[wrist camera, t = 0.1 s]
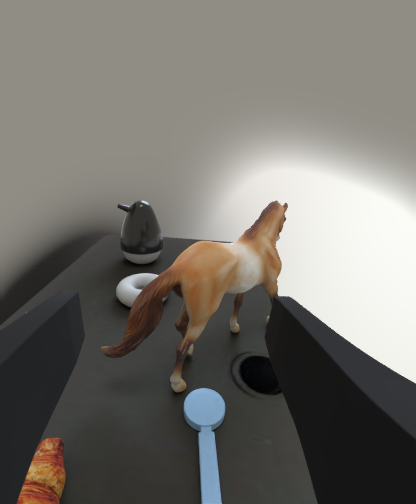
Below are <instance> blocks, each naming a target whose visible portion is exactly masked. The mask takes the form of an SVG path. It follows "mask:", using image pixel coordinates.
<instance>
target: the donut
mask: <svg viewBox="0 0 416 504" xmlns="http://www.w3.org/2000/svg"><path fill="white" fill-rule="evenodd" d="M157 276H159V275H155V274H148V273H143V274H135V275H131V276H129V277H126V278H125V279H123V280H122V281H121V282H120V283H119V284H118V286H117V289H116V295H117V297H118V299H119V300H120V302H121V303H123V304H125V305H126V306H129V307H132V305H133V302H134V301H135V299H136V297H137V296H138V295H139V293H140V292H141V291H142V290H143V289H144V287H145V286H146V285H147V284H149V283H150V282H151V281H152V280H154V279H155V278H156V277H157ZM167 298H168V296H167V297H166V298H163V302H164V301H165V300H166V299H167Z"/></svg>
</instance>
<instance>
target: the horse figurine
mask: <svg viewBox="0 0 416 504" xmlns="http://www.w3.org/2000/svg"><path fill="white" fill-rule="evenodd" d="M287 207H288V205H287V203H285V205H284V206H281V205H280V204H279V203H278V201H275V202H271V203H270V204H269V205H268V206H267V207H266V208H265V209H264V210H263V211H262V213H261V215H260V217H259V219H258V220H256V222H255V223H254V224H253V225H252V226H251V228H249V229H248V230H246V231H245V233H244V234H243V235H242V236H241V237H240V238H239V239H238V241H236V242H233V243H218V242H210V241H200V242H197V243H195V244H193V245H192V246H190V247H189V248H187V249H186V250H185V251H184V252H183V253H181V254H180V256H179V257H178V258H177V259H176V261H175V262H174V263H173V265H172V266H171V267H170V268H168V269H167V270H166V271H164V272H163V273H161V274H160V275H159V276H157V277H156V278H155V279H154V280H152V281H151V282H150V283H149V284H147V285H146V286H145V287H144V289H143V290H142V291H141V292H140V293H139V295H138V296H137V297H136V299H135V301H134V302H133V305H132V308H131V310H130V314H129V318H128V322H127V325H126V332H125V335H124V338H123V339H122V341H121V342H120V343H118V344H115V345H112V346H103V347H101V349H102V351H103V354H104V355H106V356H108V357H111V358H118V357H122V356H124V355H126V354H128V353H129V352H131V351H133V350H135V349H136V348H137V347H138V345H140V344H141V343H142V342H143V340H144V339H146V338H147V337H148V336H149V335H150V334H151V333H152V332H153V331H154V329H155V328H156V326H157V325H158V323H159V321H160V319H161V317H162V313H163V298H166V297H167V296H169V294H170V292H171V290H173V291H174V293H175V294H176V295H178V296H179V297H181V298H183V300H184V303H183V306H182V310H181V313H180V316H179V318H178V319H177V321H176V324H175V326H176V329H177V330H178V331H179V332H180V333H181V334H182V337H183V341H182V342H181V343H180V344H179V345H178V347H177V360H176V365H175V369H174V372H173V374H172V376H171V378H170V380H171V382H172V384H171V386H172V388H173V390H174V391H175V392H182V391H184V390H185V389H186V383H185V382H184V381H183V379H182V378H181V370H182V366H183V362H184V360H185V357H186V355H187V353H188V354H189V355H192V354H193V344H192V343H194V342H195V341H196V340H197V338H198V337H199V336H200V334H201V333H202V331H203V330H204V328H205V326H206V324H207V322H208V320H209V318H210V317H211V315H212V314H213V313H215V312H216V311H217V309H218V307H219V304H220V302H221V300H222V297H223V295H224V294H225V293H237V296H236V297H235V300H234V311H233V315H232V317H231V319H230V325H231V326H230V328H231V331H232V332H234V333H237V332H239V331H240V328H239V325H238V324H237V323H236V321H237V315H238V312H239V309H240V307H241V306H242V303H243V293H244V292H246V291H248V290H250V289H251V288H252V287H254V286H255V285H258V284H262V286H263V287H264V288H265V290H266V291H267V293H268V294H269V297H270V300H271V304H272V303H273V299H274V296H278V294H277V292H278V287H277V277H278V276H279V274H280V271H281V260H280V257H279V255H278V252H277V249H276V241H277V240H278V239H279V238H280V237H279V233H280V232H281V230H282V227H283V223H284V222H285V220H286V218H285V215H284V213H285V211H286V209H287ZM271 308H272V306H271ZM270 312H271V309H270ZM268 321H269V316H268V317H267V320H266V323H268ZM188 322H189V324H188ZM187 326H188V328H187Z"/></svg>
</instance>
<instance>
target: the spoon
mask: <svg viewBox="0 0 416 504" xmlns="http://www.w3.org/2000/svg"><path fill="white" fill-rule="evenodd" d="M224 415H225V403H224V401H223V399H222V397H221V396H220V395H219V394H218V393H217V392H215V391H213V390H211V389H206V388H201V389H197V390H194V391H192V392H191V393H190V394H189V395H188V396H187V397H186V399H185V402H184V418H185V420H186V422H187V423H188V424H189V425H190V426H191V427H192V428H193V429H195V430H198V431H200V432H199V434H198V444H199V466H200V487H201V504H222V503H221V493H220V483H219V474H218V464H217V454H216V445H215V435H214V432H212V430H214V429H216V428H217V427H219V426H220V424H221V423H222V421H223V419H224Z"/></svg>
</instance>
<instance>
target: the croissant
mask: <svg viewBox="0 0 416 504" xmlns="http://www.w3.org/2000/svg"><path fill="white" fill-rule="evenodd" d="M63 448H64V444H63V442H62V440H61V439H60V438H47V439H45V440H43V441H42V442H40V443H39V445H38V446H37V449H36V452H35V454H34V457H33V460H32V462H31V465H30V468H29V471H28V473H27V476H26V479H25V481H24V484H23V487H22V490H21V493H20V495H19V498H18V501H17V504H59V499H60V498H61V495H62V492H63V488H64V484H65V477H66V472H65V467H64V461H63Z"/></svg>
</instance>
